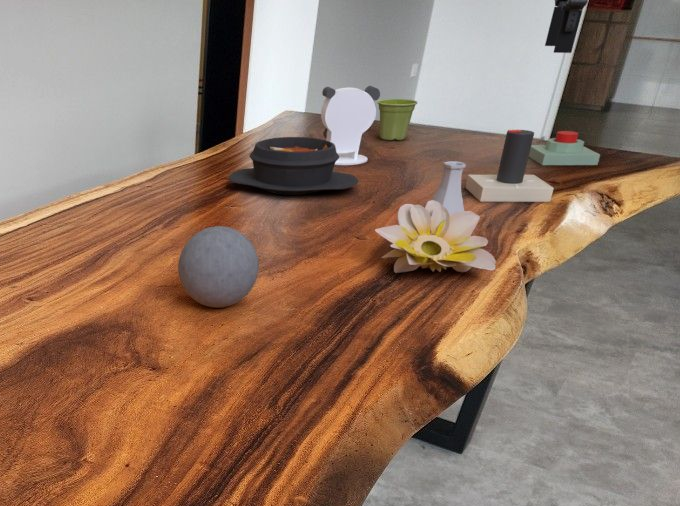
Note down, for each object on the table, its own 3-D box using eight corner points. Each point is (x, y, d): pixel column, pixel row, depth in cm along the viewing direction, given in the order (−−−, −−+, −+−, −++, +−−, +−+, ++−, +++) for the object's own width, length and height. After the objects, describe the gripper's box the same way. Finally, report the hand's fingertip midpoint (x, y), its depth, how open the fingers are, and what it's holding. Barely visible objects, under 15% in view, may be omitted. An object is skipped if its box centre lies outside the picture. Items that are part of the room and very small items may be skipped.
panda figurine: (361, 153, 167) (370, 83, 159) (377, 164, 157) (387, 89, 149) (310, 155, 166) (316, 84, 159) (322, 165, 157) (330, 91, 149)
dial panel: (530, 187, 137) (534, 173, 135) (550, 202, 128) (554, 186, 127) (465, 187, 138) (467, 173, 137) (480, 201, 129) (483, 186, 128)
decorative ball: (182, 322, 88) (182, 242, 83) (174, 291, 96) (174, 217, 91) (263, 318, 88) (268, 238, 83) (248, 288, 97) (252, 214, 91)
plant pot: (365, 139, 181) (370, 102, 176) (385, 133, 186) (390, 97, 182) (399, 143, 175) (404, 105, 170) (418, 137, 180) (424, 100, 176)
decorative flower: (382, 277, 94) (395, 197, 91) (361, 267, 105) (372, 196, 102) (498, 284, 93) (515, 205, 90) (465, 274, 104) (479, 203, 101)
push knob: (571, 140, 155) (574, 130, 154) (578, 144, 152) (581, 134, 151) (551, 141, 156) (554, 131, 154) (558, 144, 152) (561, 134, 151)
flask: (451, 218, 121) (463, 157, 116) (475, 230, 115) (489, 166, 110) (411, 221, 120) (421, 159, 115) (433, 234, 114) (445, 169, 109)
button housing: (578, 155, 159) (583, 136, 157) (597, 165, 151) (603, 145, 148) (525, 155, 160) (530, 136, 158) (542, 165, 152) (547, 145, 150)
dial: (518, 177, 133) (529, 127, 129) (526, 183, 130) (538, 132, 125) (493, 177, 134) (504, 128, 129) (500, 183, 130) (512, 132, 126)
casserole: (361, 181, 145) (366, 137, 140) (351, 205, 130) (358, 157, 125) (239, 174, 152) (241, 132, 148) (217, 196, 137) (218, 150, 133)
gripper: (559, -87, 131) (528, 43, 142) (579, -97, 111) (542, 55, 122) (605, -88, 129) (570, 43, 140) (635, -99, 109) (591, 56, 120)
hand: (557, 49), depth 131 cm, fingers open, 13 cm apart
